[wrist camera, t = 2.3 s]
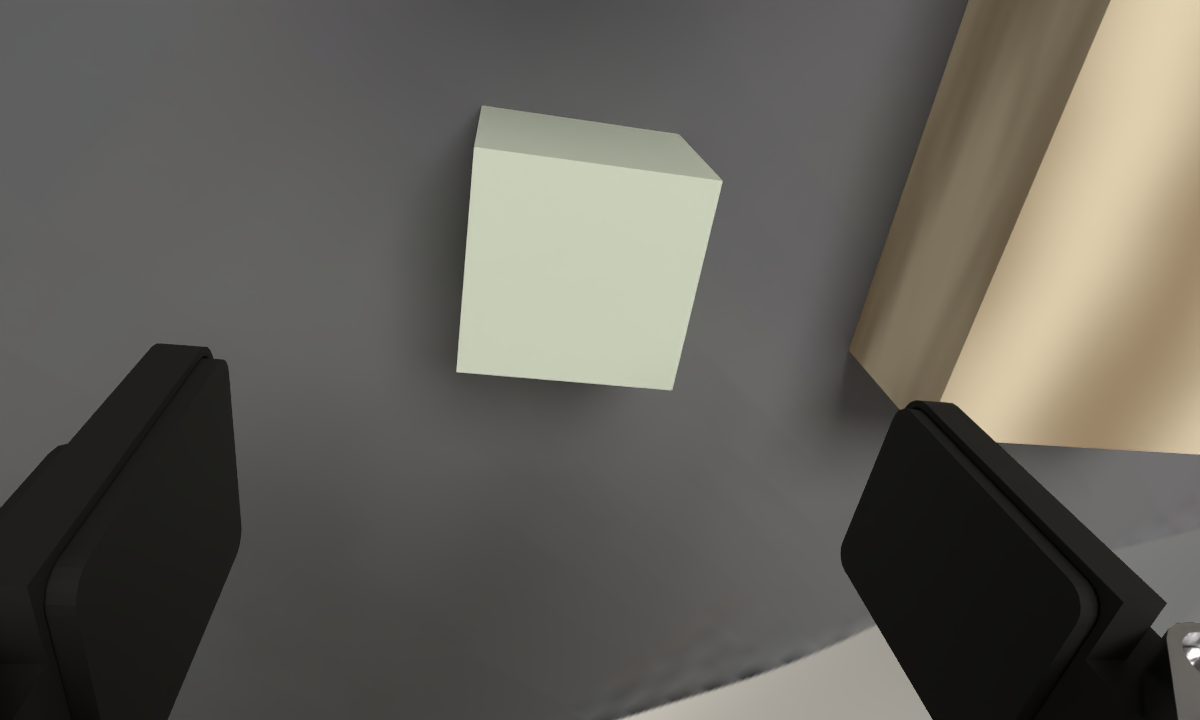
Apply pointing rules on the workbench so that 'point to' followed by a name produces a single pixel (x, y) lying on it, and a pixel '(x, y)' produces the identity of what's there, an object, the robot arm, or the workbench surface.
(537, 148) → the sage cube
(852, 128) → the workbench surface
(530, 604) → the workbench surface
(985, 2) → the maple block
